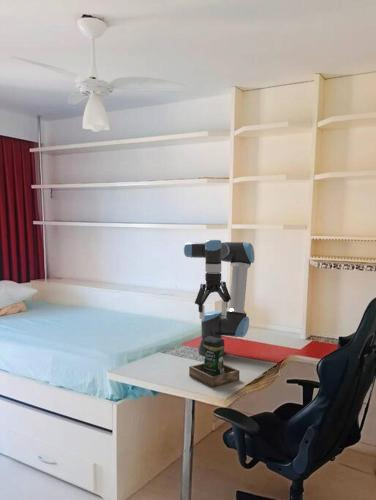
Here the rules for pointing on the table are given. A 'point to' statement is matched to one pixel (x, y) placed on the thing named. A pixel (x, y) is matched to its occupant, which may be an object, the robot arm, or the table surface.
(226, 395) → the table surface
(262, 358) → the table surface
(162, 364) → the table surface
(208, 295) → the robot arm
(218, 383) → the walnut tray
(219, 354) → the coffee jar
